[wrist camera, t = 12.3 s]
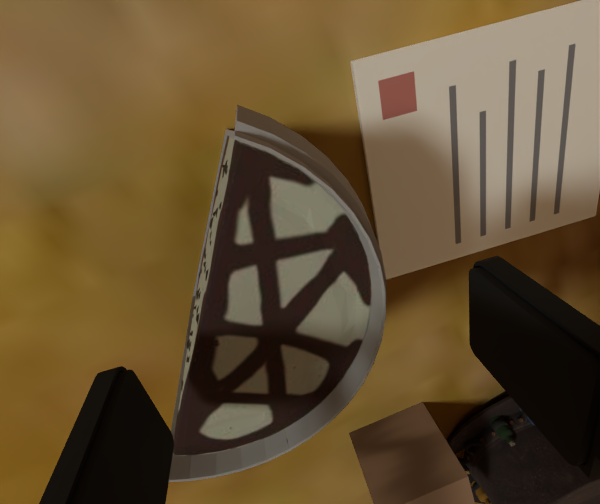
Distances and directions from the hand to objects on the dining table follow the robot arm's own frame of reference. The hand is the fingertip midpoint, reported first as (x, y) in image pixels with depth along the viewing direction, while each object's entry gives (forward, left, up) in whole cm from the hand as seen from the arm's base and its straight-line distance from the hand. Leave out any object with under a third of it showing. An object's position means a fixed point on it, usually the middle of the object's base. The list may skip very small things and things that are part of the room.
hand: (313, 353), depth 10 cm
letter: (+13, 0, -11) cm, 16 cm away
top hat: (+16, -26, -11) cm, 32 cm away
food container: (0, -1, -11) cm, 11 cm away
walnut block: (+5, -21, -11) cm, 24 cm away
